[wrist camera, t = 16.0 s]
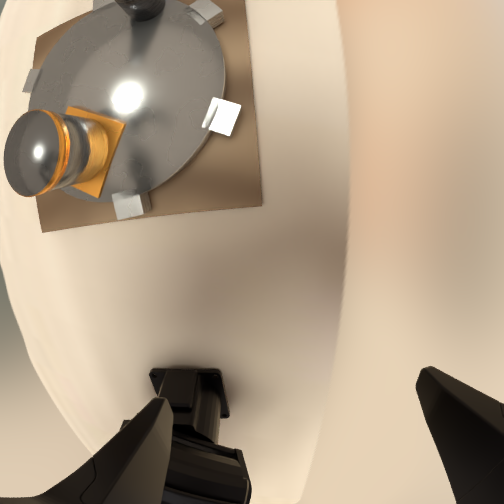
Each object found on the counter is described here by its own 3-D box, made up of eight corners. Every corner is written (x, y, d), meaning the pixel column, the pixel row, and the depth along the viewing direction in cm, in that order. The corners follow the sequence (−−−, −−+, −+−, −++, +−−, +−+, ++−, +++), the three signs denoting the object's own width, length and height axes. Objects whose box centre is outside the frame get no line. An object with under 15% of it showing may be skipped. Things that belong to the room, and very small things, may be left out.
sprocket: (279, 24, 13) (290, -21, 8) (196, 239, 18) (175, 273, 12) (76, 1, 11) (40, -25, 6) (14, 175, 16) (-34, 186, 10)
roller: (112, 177, 14) (63, 188, 10) (59, 189, 14) (7, 203, 10) (107, 109, 13) (58, 97, 8) (54, 126, 13) (2, 124, 8)
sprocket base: (261, 203, 18) (262, 206, 17) (49, 229, 18) (41, 233, 17) (242, -18, 13) (241, -25, 12) (43, 40, 13) (36, 37, 12)
